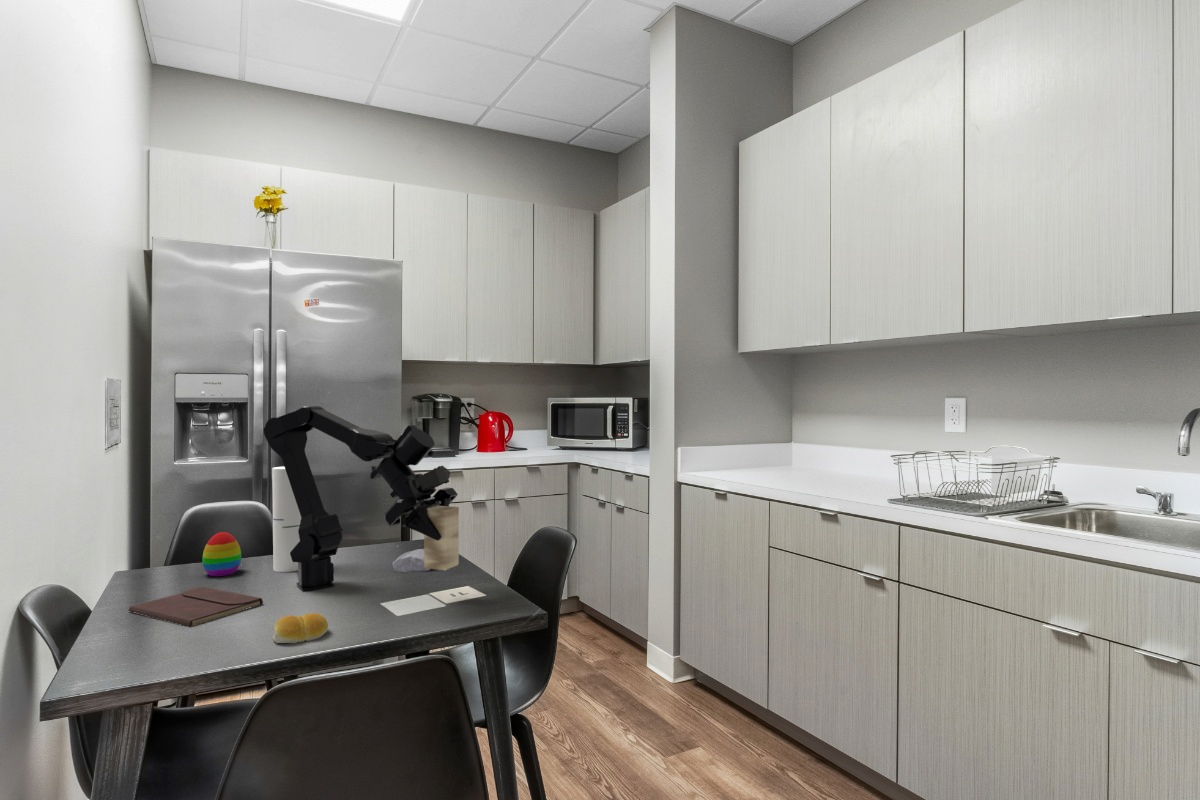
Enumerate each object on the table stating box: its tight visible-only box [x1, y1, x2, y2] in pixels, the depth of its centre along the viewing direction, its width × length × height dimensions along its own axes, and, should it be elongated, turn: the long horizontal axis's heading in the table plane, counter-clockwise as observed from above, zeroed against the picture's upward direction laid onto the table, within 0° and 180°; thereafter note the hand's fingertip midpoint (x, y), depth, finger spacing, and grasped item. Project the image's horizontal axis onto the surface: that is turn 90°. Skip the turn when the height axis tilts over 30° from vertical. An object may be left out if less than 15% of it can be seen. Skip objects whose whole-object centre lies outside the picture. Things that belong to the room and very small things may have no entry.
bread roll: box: [271, 612, 329, 644], centre depth 118 cm, size 8×9×4 cm
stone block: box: [392, 548, 431, 572], centre depth 166 cm, size 12×5×10 cm
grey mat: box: [379, 593, 447, 617], centre depth 134 cm, size 10×10×1 cm
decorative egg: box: [202, 531, 242, 577], centre depth 161 cm, size 8×8×10 cm
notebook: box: [128, 586, 264, 628], centre depth 134 cm, size 15×20×2 cm
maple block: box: [423, 505, 460, 571], centre depth 138 cm, size 5×5×12 cm
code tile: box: [428, 585, 487, 605], centre depth 141 cm, size 9×9×1 cm
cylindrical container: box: [271, 466, 301, 573], centre depth 166 cm, size 7×7×25 cm
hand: (447, 536), depth 138 cm, fingers closed on maple block, 5 cm apart
